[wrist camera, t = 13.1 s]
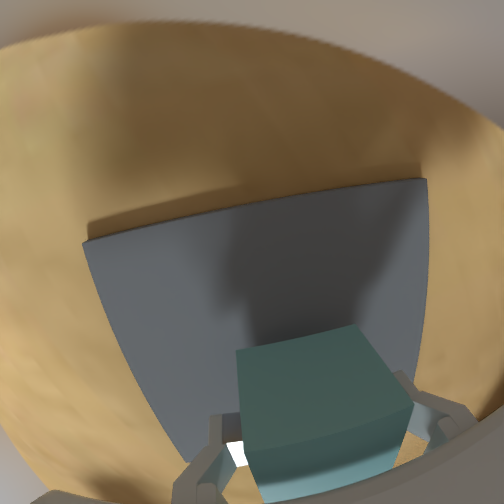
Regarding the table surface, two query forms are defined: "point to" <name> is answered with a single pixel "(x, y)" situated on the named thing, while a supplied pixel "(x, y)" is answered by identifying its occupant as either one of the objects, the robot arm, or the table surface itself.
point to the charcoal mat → (261, 290)
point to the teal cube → (318, 413)
